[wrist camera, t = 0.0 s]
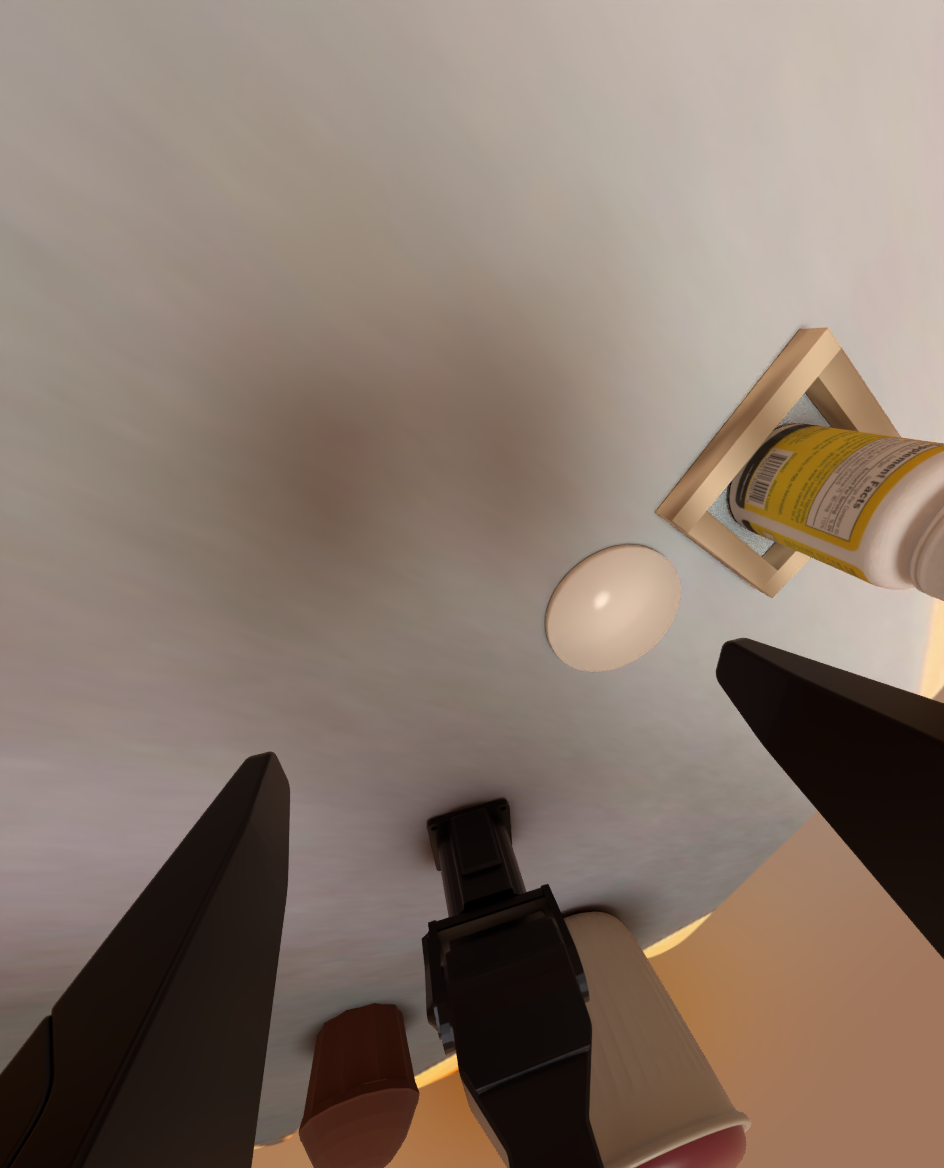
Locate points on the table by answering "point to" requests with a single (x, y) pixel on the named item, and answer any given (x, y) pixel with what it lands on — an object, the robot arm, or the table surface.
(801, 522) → the supplement bottle
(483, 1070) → the robot arm
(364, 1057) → the muffin
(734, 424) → the pocket frame
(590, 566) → the coaster
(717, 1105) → the canister
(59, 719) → the table surface
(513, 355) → the table surface
